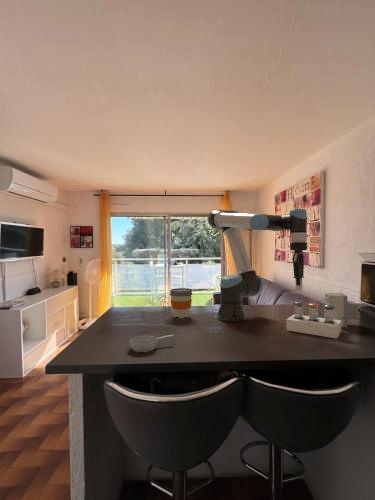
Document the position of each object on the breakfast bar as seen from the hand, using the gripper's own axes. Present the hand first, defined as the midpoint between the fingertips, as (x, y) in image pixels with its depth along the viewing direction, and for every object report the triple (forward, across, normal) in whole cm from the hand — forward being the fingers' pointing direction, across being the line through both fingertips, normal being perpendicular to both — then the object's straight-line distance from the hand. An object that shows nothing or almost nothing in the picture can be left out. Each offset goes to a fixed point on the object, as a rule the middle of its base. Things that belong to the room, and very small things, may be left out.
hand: (299, 291), depth 132 cm
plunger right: (+14, 0, -13) cm, 19 cm away
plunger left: (+14, 0, 0) cm, 14 cm away
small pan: (+18, -57, +41) cm, 72 cm away
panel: (+18, 0, -6) cm, 19 cm away
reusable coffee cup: (+17, -12, +61) cm, 65 cm away
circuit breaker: (+18, +18, -16) cm, 30 cm away
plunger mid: (+14, 0, -6) cm, 15 cm away
